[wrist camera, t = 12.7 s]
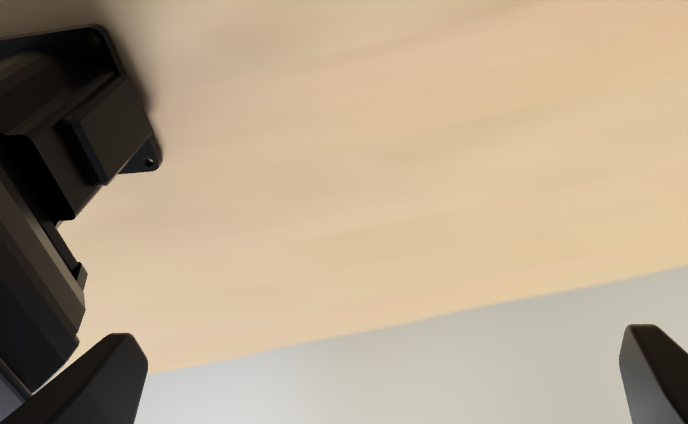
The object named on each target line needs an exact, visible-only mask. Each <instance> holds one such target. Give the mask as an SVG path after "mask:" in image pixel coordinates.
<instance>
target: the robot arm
mask: <svg viewBox="0 0 688 424" xmlns="http://www.w3.org/2000/svg"><path fill="white" fill-rule="evenodd" d="M92 34H94V35H96V36H97V37H98V38H99V41H100V43H97V42H96V41H95V40H94V39H93V38H92ZM147 157H149V158H151V159H152V160H153V162H151V161H149V160H148V159H147ZM162 161H163V159H162V156H161V153H160V151H159V149H158V146H157V144H156V142H155V139H154V137H153V135H152V128H151V126H150V124H149V121H148V119H147V117H146V114H145V112H144V109H143V107H142V105H141V102H140V100H139V98H138V95H137V93H136V91H135V88H134V86H133V84H132V81H131V79H130V78H129V77H128V76H127V74H126V72H125V70H124V67H123V65H122V63H121V60H120V58H119V56H118V53H117V51H116V49H115V46H114V44H113V42H112V39H111V37H110V35H109V33H108V32H107V30H106V29H105V28H104V27H102V26H100V25H98V24H89V25H82V26H76V27H69V28H62V29H56V30H49V31H42V32H36V33H29V34H22V35H16V36H9V37H3V38H0V424H134V421H135V417H136V413H137V409H138V406H139V401H140V398H141V394H142V390H143V387H144V383H145V379H146V375H147V371H148V361H147V358H146V356H145V354H144V352H143V351H142V349H141V348H140V346H139V344H138V343H137V341H136V339H135V338H134V336H133V335H131V334H130V333H112V334H109V335H107V336H106V337H104V338H103V339H102V340H101V341H99V342H98V343H97V344H96V345H94V346H93V347H92V348H91V349H90V350H88V351H87V352H86V353H85V354H83V355H82V356H81V357H80V358H78V359H77V360H76V361H75V362H74V363H72V364H71V365H70V366H69V367H67V368H66V369H65V370H64V371H62V372H61V373H60V374H59V375H58V376H56V377H55V378H54V379H53V380H51V381H50V382H49V383H48V384H46V383H47V382H48V381H49V380H50V379H51V378H52V377H53V376H54V375H55V374H56V373H57V372H58V371H59V370H60V369H61V368H62V367H63V366H64V365H65V364H66V362H67V361H68V360H69V358H70V357H71V356H72V354H73V353H74V352H75V350H76V348H77V347H78V345H79V338H78V337H77V336H76V334H77V332H78V330H79V327H80V324H81V321H82V319H83V316H84V313H85V310H86V309H85V300H84V293H83V290H84V286H85V283H86V279H87V275H88V273H87V272H86V270H85V268H84V267H83V265H82V264H81V263H80V262H77V261H76V259H75V258H74V256H73V255H72V253H71V251H70V250H69V248H68V247H67V245H66V243H65V242H64V240H63V239H62V237H61V235H60V234H59V232H58V231H57V228H58V227H59V226H60V224H61V223H62V222H63V221H66V220H73V219H75V218H76V216H77V215H78V214H79V213H80V212H81V211H82V210H83V208H84V207H85V206H86V205H87V204H88V203H89V202H90V200H91V199H92V198H93V197H94V196H95V195H96V193H97V192H98V191H99V190H100V189H101V188H102V187H103V186H107V185H108V184H109V183H110V182H111V181H112V180H113V179H114V177H115V176H116V175H117V174H126V173H138V172H150V171H155V170H157V169H158V168H159V166H160V165H161V164H162ZM619 366H620V372H621V375H622V380H623V384H624V389H625V393H626V397H627V402H628V406H629V410H630V415H631V419H632V423H633V424H688V353H687V352H686V351H684V350H683V349H682V348H681V347H680V346H679V345H678V344H677V343H676V342H675V341H673V340H672V339H671V338H670V337H669V336H668V335H667V334H665V332H664V331H662V330H661V329H660V328H659V327H657V326H656V325H653V324H631V325H628V326H627V327H626V329H625V332H624V337H623V341H622V346H621V351H620V355H619ZM45 384H46V385H45ZM44 385H45V386H44ZM43 386H44V387H43ZM41 387H43V388H42V389H40V388H41ZM39 389H40V390H39ZM38 390H39V391H38ZM37 391H38V392H37ZM35 392H37V393H35ZM34 393H35V394H34ZM33 394H34V395H33Z"/></svg>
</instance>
